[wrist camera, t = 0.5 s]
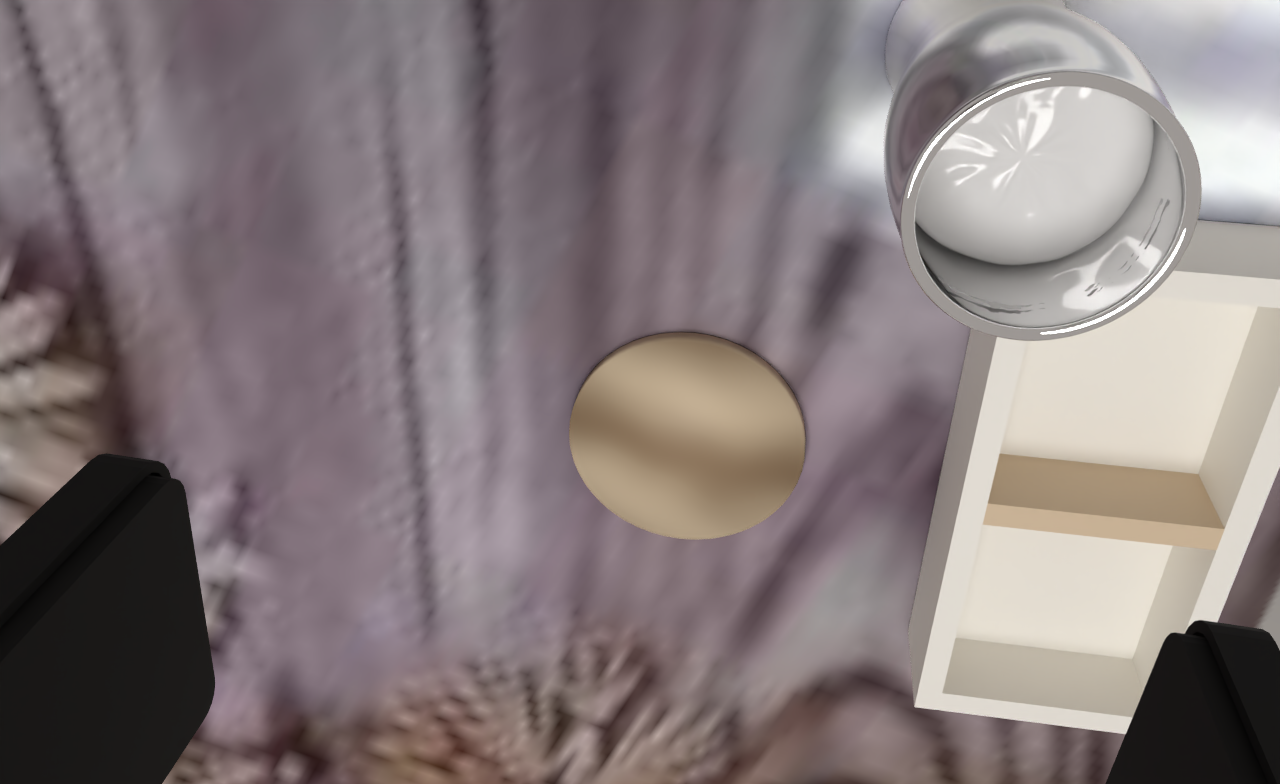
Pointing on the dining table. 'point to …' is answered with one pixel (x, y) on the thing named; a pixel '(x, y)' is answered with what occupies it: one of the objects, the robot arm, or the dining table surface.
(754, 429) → the cork trivet
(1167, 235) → the beer glass
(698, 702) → the dining table surface
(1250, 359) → the cream divided tray
